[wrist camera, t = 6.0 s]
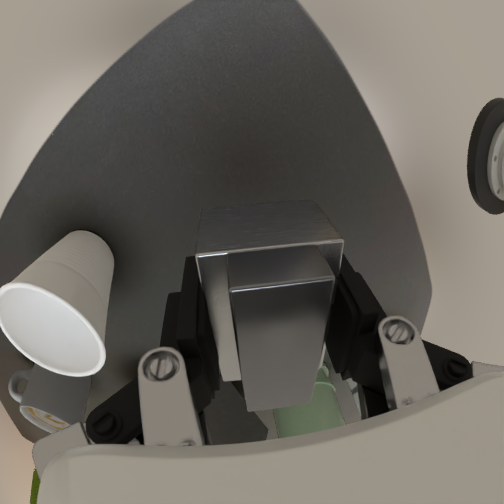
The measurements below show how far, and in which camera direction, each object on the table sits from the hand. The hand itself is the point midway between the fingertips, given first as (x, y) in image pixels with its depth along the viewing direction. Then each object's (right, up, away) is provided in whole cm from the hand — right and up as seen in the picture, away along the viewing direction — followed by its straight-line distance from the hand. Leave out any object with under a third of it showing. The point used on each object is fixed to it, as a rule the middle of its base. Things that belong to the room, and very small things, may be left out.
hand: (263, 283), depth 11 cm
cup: (-17, +1, +14) cm, 22 cm away
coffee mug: (-32, -17, +23) cm, 43 cm away
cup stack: (+6, -18, +29) cm, 35 cm away
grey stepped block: (0, 0, +1) cm, 1 cm away
